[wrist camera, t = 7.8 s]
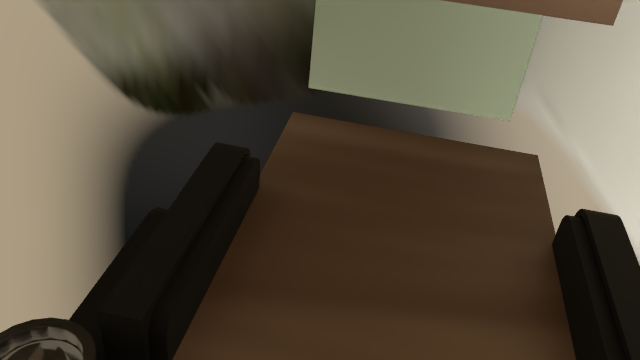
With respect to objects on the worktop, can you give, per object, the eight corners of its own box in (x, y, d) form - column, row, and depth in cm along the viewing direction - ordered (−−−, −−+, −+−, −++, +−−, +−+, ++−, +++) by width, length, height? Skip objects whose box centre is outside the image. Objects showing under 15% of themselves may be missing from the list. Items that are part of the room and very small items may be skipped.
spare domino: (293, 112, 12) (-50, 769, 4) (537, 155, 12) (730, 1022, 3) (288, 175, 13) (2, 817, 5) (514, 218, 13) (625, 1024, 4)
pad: (324, -85, 18) (323, -83, 17) (562, -53, 17) (563, -51, 17) (310, 84, 21) (308, 87, 21) (509, 117, 20) (509, 121, 20)
